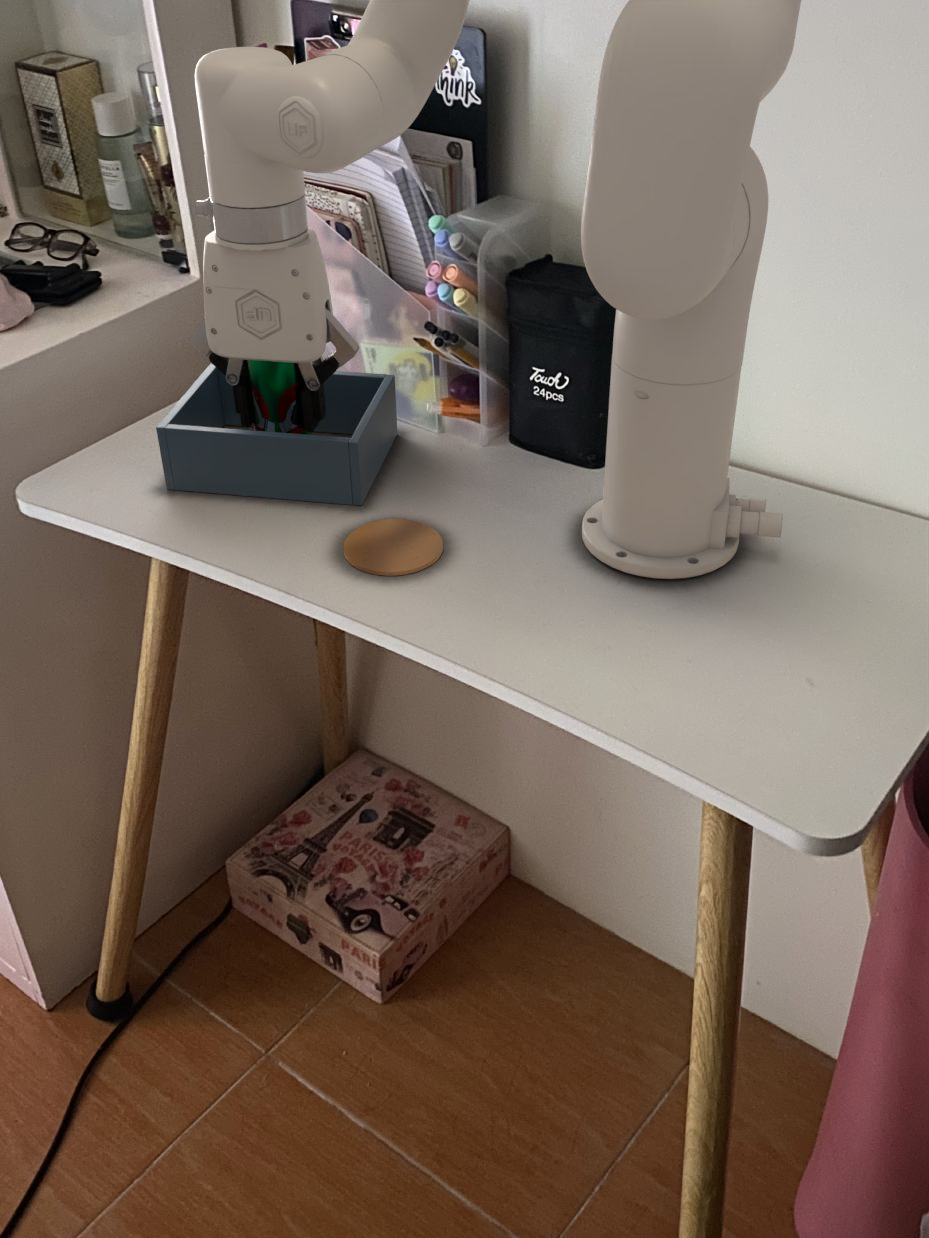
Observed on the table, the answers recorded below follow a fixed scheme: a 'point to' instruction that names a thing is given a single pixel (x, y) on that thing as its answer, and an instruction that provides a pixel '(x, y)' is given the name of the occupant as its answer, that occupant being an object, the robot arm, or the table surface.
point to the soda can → (276, 396)
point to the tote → (280, 443)
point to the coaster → (393, 547)
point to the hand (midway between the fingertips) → (282, 421)
